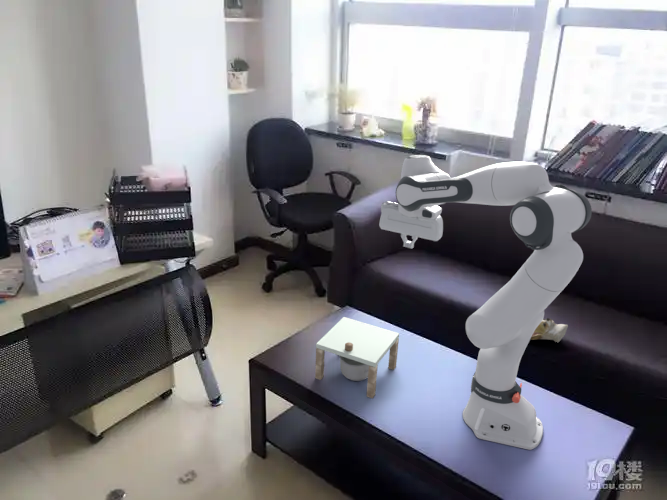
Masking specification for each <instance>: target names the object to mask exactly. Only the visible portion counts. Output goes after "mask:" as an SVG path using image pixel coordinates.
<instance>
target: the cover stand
mask: <svg viewBox="0 0 667 500" xmlns="http://www.w3.org/2000/svg"><path fill="white" fill-rule="evenodd" d="M399 338H400V337H399ZM399 338H398V339H397V340H396V342H395V343H394V344H393V345H392V347H391V348H390V349H389V355H388V364H387V365H388V367H387V369H389V370H393V371H395V370H396V368H397V362H398V361H397V360H398V349H399ZM325 353H326V351H324V350H321V349H318V348H315V371H314V374H315V376H314V378H315V379H317V380H318V381H321V380H322V379H323V378H324V376H325V374H324V373H325ZM378 366H379V363H378V364H377V365H376V367H373V366H370V365H369V370H368V378H367V385H366V386H367V387H366V397H367V398H369V399H372V400H373V399H374V397H375V396H376V389H377V377H378Z"/></svg>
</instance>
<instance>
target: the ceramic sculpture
mask: <svg viewBox="0 0 667 500" xmlns="http://www.w3.org/2000/svg"><path fill="white" fill-rule="evenodd" d="M568 327H569V325H568V324H564V323H559V324H557V323H555V321H554V320H553V319H552V318H549V317H547V318H543V320H542V322H541V323H540V324H539V325H538V327H537V328H536V329H535V331H534V333H533V334H532V336H531V339H530V341H531V340H532V341H533V340H535V341H536V340H548V341H549V340H550V341H554V342H555V343H556V342H557V343H559V342H560V341H561V340H562V339H563V338H564V336H565V335H566V333H567V330H568ZM557 343H556V344H557Z"/></svg>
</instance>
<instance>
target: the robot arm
mask: <svg viewBox="0 0 667 500" xmlns="http://www.w3.org/2000/svg"><path fill="white" fill-rule="evenodd" d="M549 179H550V178H549V175H548V172H547V171H546V169H545V168H544V167H543V166H542V165H540V164H539V163H536V162H530V161H529V162H528V161H504V162H498V163H493V164H489V165H485V166H483V167H480V168H477V169H474V170H471V171H469V172H466V173H463V174H460V175H458V176H453V177H452V176H451V175H450V174H449V173H447V172H445V171H443V170H441V169H440V168H438V166H436V165H435V164H434V162H433V161H432V158H431V157H430V156H429V155H427V154H415V155H414V154H412V155H408V156H407V157H405V158H404V160H403V163H402V166H401V174H400V179H399V181H398V183H397V185H396V188H395V198H396V202H392V201H390V200H386V201H383V202H382V203H381V206H380V212H381V213H380V216H379V217H380V219H379V224H378V225H379V226H378V227H379V228H380V229H381V230H385V231H388V232H389V231H390V232H393V233H398V234H400V237H401V239H402V242H403V245H402V247H405V248H407V249H413V248H414V247H415V243H416V241H417V240H418V238H421V239H424V240H429V241H433V242H438V241H439V240H441V238H442V237H443V232H444V220H443V217H442V216H441V214H442V211H443V208H442V207H440V206H439V205H445V204H446V203H461V204H473V205H474V204H475V205H483V206H485V205H486V206H487V205H488V206H498V207H499V206H500V207H501V206H502V207H503V206H512V209H511V211H510V214H509V221H510V222H509V224H510V226H511V228H512V231H513V232H514V234H515V235H516V236H517V238H518V239H519V240H520V241H522V242H523V243H524V245H525V247H526V248H528V249H531V250H533V252H532V253H531V254H530V256H529V257H528V258H527V259H526V261H525V262H524V263H523V264H522V265H521V267H520V268H519V269H518V270H517V272H516V273H515V274H514V275H513V276H512V277H511V279H510V280H509V281H507V283H506V284H504V285H503V286H502V287H501V288H500V289H499V290H497V292H495V293H494V294H493V295H492V296H491V297H490V298H488V300H487V301H486V302H484V304H483V305H481V307H479V308H478V309H476V311H474V312H473V313H471V314H470V315H469V316H468V317H467V319H466V321H465V333H466V335H467V336H466V337H467V338H468V339H469V341H470V342H471V343H472V344H473V345H474V346H475V347H477V348H479V351H478V356H477V360H476V361H477V362H476V366H475V371H474V373H473V375H472V378H471V384H470V395H469V399H468V400H467V404H466V406H465V407H464V408H463V411H462V418H463V421H464V422H465V425H467V426H468V427H469V428H470V429H471V430H472V431H473V433H474V436H475V437H477V438H478V439H480V440H484V441H489V442H493V443H496V444H497V443H498V444H502V445H506V446H511V447H515V448H521V449H525V450H533V449H536V448H537V447H538V446H539V445H540V443H541V441H542V439H543V434H544V426H543V422H542V421H541V419H540V418H539V417H537V412H536V411H537V410H536V407H535V406H534V405H533V404H532V403H531V402H530V401H529V400H527V399H526V397H524V396H523V395H522V387H523V383H522V382H520V384H518V382H517V381H516V380H517V375H518V371H519V366H520V363H521V360H522V357H523V355H524V353H525V350H526V348H527V347H528V344H529V343H530V341H531V336H532V334H533V333H534V331H535V329H536V328H537V327H538V325H539V324H540V323H541V322H542V320H543V319H545V318H544V317H545V310H546V309H547V308H548V307H549V306H550V305H551V304H552V302H553V301H554V300H555V299H556V298H557V297H558V296H559V295H560V293H562V292H563V291H564V289H565V288H566V287H567V286H568V284H570V282H571V281H572V280H573V279H574V277H575V276H576V274H577V272H578V271H579V268H580V267H581V265H582V263H583V261H584V253H583V250H582V247H581V246H580V244H578V242H577V241H575V240H574V239H573V237H572V234H573V233H577V232H578V231H579V232H580V230H582V229H584V227H586V226H587V225H588V223H589V222H590V220H591V218H592V213H593V210H592V205H591V202H590V200H589V199H588V198H587V197H586V196H585V195H584V194H583V193H580V192H579V191H577V190H574V189H570V188H568V187H567V186H566V185H564V184H562V183H561V184H560V183H558V184H555V185H554V186H553V185H552V184H551V183H550V180H549ZM407 236H411V239H412V241H411V240H408V237H407Z"/></svg>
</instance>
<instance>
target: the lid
mask: <svg viewBox="0 0 667 500" xmlns="http://www.w3.org/2000/svg"><path fill="white" fill-rule="evenodd" d="M398 338H400V332H397V331H393V330H389V329H386V328H383V327H379V326H376V325H372V324H371V323H365V322H363V321H359V320H356V319H352V318H349V317H345V316H343V317H342V318H340V320H339V321H338V322H337V323H336V324H335V325H334V326H332V328H331V329H329V331H328V332H326V333H325V334H324V335H323V337H321V338H320V339H319V340H318V341H317V342H316V344H315V347H316V348H318V349H321V350H324V351H325V352H328V353H331V354H334V355H337V356H339V357H340V356H343V357H346V358H349V359H352V360H355V361H358V362H361V363H364V364H367V365H370V366H373V367H376V365H377V364H378V365H379V363H380V362H381V360H382V359H383V358H384V357H385V355H386V354H387V353H388V352H389V351H390V348H391V347H392V345H393V344H394V343H395V342H396V340H397V339H398ZM316 348H315V349H316Z"/></svg>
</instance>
